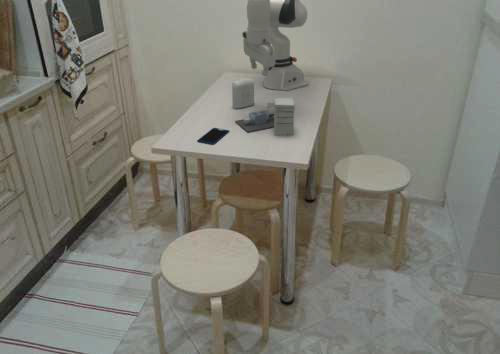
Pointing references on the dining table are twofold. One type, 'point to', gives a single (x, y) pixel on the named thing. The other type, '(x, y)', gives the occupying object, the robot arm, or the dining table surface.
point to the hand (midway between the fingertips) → (259, 71)
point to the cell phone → (213, 136)
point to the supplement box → (284, 116)
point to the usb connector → (258, 117)
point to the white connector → (270, 108)
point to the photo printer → (243, 93)
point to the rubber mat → (253, 128)
